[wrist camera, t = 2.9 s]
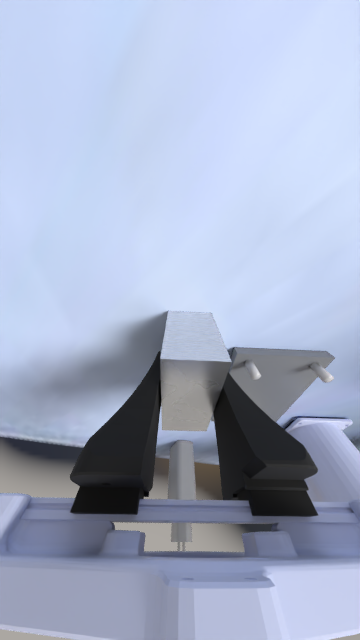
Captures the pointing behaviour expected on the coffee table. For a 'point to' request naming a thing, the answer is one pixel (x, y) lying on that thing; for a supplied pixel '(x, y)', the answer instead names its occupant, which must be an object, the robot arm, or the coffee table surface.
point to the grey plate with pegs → (277, 375)
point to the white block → (191, 370)
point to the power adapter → (181, 485)
